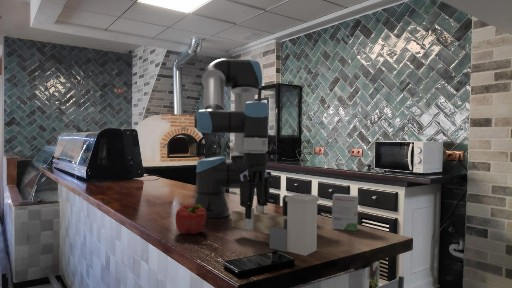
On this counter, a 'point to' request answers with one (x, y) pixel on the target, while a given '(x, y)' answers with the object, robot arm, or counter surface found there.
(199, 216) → the vegetable
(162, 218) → the counter surface
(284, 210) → the mug
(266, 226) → the rail
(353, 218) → the ink box
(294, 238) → the grey forked bracket
